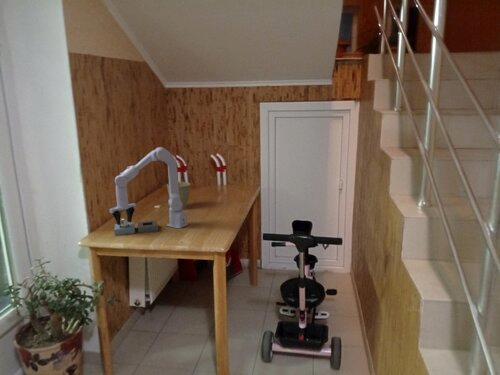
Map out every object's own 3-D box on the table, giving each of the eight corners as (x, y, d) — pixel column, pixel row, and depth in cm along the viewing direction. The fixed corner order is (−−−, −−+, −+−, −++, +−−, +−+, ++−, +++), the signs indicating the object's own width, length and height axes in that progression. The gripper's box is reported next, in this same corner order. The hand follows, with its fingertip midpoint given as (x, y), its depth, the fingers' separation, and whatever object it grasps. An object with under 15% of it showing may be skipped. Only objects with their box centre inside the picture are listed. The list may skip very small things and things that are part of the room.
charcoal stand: (156, 225, 219) (156, 220, 218) (158, 231, 210) (157, 225, 209) (138, 227, 216) (137, 222, 216) (138, 233, 207) (138, 227, 206)
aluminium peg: (129, 230, 212) (128, 217, 210) (127, 232, 208) (126, 219, 207) (122, 230, 211) (121, 217, 210) (120, 232, 208) (119, 219, 206)
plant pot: (186, 211, 246) (185, 186, 242) (164, 210, 249) (163, 186, 245) (194, 205, 260) (193, 182, 257) (173, 204, 263) (172, 181, 259)
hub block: (134, 227, 216) (134, 222, 215) (134, 233, 206) (134, 227, 206) (115, 229, 213) (115, 224, 212) (114, 235, 204) (114, 229, 203)
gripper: (114, 202, 198) (116, 228, 201) (138, 196, 209) (140, 221, 212) (106, 200, 202) (108, 225, 205) (130, 194, 213) (132, 218, 216)
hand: (124, 223), depth 209 cm, fingers open, 6 cm apart
